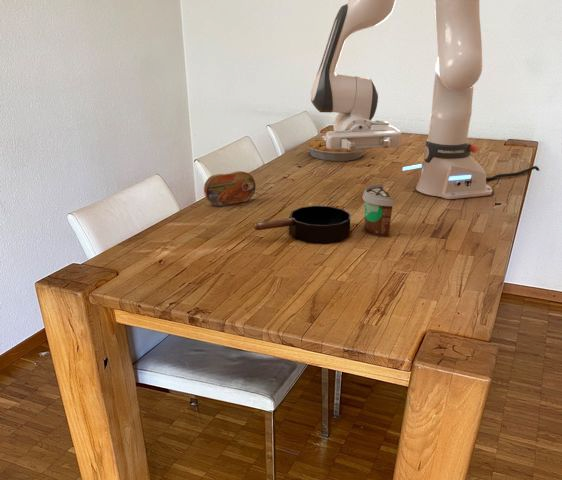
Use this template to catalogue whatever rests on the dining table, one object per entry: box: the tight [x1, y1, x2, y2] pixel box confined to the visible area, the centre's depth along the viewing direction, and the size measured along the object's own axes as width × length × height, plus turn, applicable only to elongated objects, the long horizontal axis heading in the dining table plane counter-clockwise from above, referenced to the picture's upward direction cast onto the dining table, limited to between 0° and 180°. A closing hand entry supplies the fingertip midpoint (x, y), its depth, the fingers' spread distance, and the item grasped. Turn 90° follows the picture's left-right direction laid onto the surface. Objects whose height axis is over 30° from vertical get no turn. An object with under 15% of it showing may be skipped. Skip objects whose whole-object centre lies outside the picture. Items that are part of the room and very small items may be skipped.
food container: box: [362, 183, 394, 237], centre depth 146 cm, size 12×6×10 cm, turn 5°
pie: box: [306, 137, 366, 162], centre depth 213 cm, size 22×22×5 cm
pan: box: [253, 205, 352, 245], centre depth 144 cm, size 25×15×5 cm, turn 112°
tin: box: [203, 170, 256, 207], centre depth 164 cm, size 15×3×8 cm, turn 117°
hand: (369, 145), depth 151 cm, fingers open, 8 cm apart
